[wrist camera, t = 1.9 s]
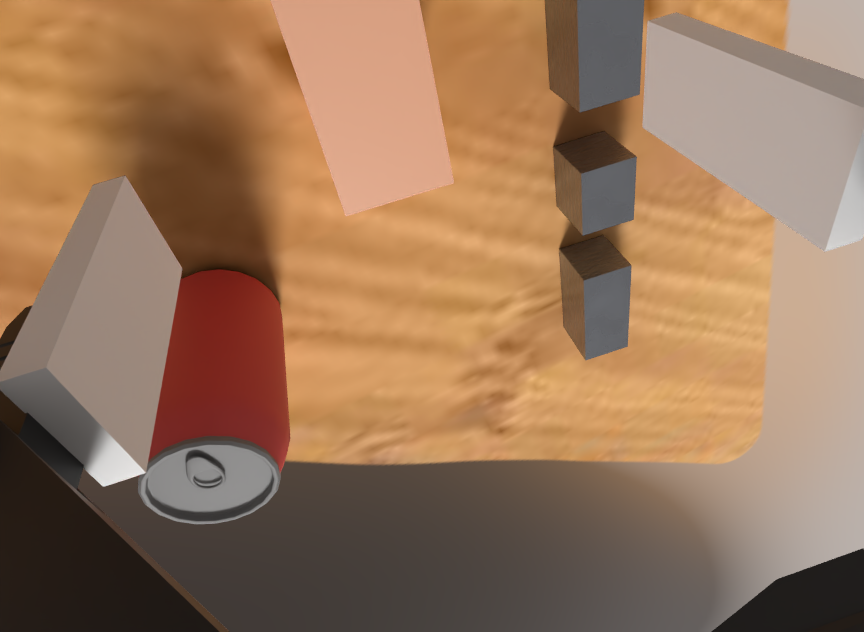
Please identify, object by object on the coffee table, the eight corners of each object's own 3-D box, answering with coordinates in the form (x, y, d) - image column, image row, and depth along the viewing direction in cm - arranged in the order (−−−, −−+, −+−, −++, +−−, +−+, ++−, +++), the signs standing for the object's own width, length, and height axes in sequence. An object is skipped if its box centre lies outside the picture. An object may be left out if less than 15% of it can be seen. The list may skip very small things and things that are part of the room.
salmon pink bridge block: (240, -111, 21) (236, -98, 15) (352, -142, 21) (392, -140, 15) (325, 137, 28) (345, 216, 22) (410, 112, 28) (454, 183, 22)
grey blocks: (540, -69, 24) (575, -60, 22) (605, -88, 25) (647, -81, 22) (563, 327, 40) (585, 360, 38) (603, 314, 40) (627, 346, 38)
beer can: (259, 250, 31) (263, 414, 22) (295, 337, 35) (311, 505, 26) (137, 281, 30) (88, 464, 21) (189, 366, 34) (167, 548, 25)
